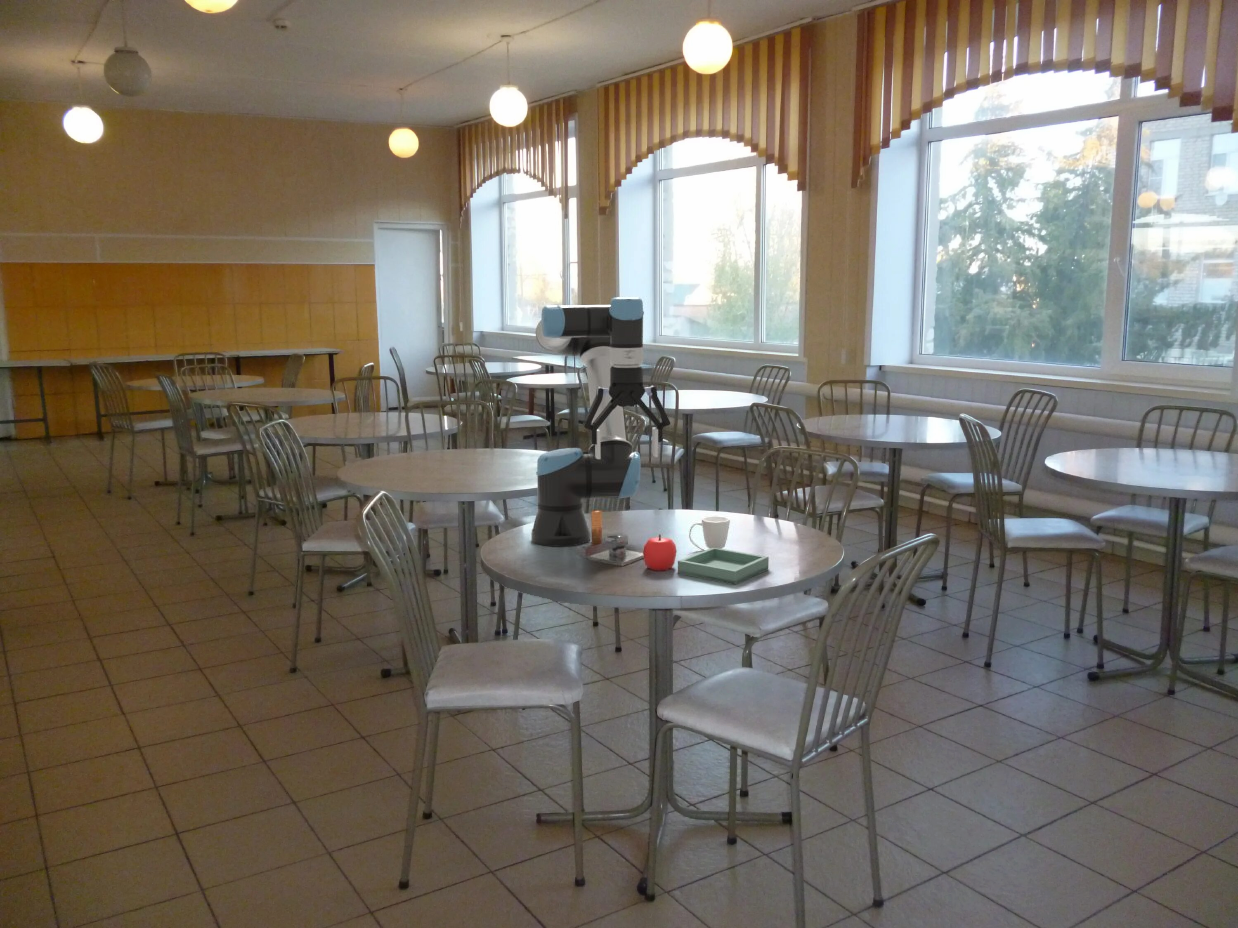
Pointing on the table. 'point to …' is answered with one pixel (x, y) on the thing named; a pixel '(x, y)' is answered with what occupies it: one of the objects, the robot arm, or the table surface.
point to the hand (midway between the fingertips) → (626, 457)
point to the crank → (600, 538)
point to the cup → (713, 531)
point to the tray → (723, 565)
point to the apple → (659, 553)
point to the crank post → (617, 556)
